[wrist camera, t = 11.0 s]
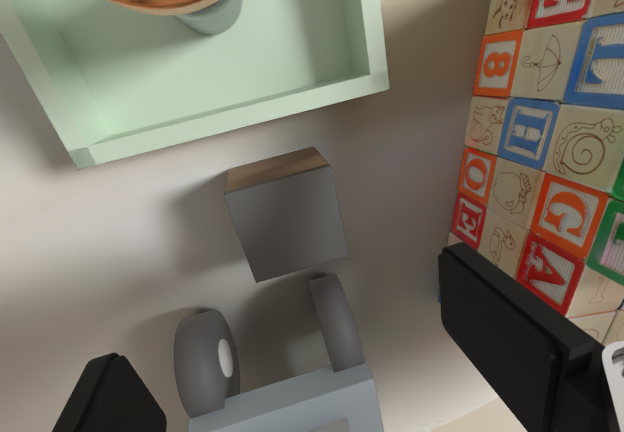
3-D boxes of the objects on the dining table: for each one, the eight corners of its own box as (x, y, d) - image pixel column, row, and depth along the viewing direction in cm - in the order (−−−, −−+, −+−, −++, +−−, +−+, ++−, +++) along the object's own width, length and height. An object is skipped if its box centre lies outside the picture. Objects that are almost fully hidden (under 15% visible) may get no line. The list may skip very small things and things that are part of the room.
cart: (330, 255, 22) (382, 372, 13) (367, 416, 30) (415, 554, 21) (183, 299, 21) (140, 451, 13) (261, 452, 29) (266, 609, 20)
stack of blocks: (505, 289, 26) (692, 447, 15) (435, 299, 25) (579, 475, 14) (595, -30, 18) (1186, -203, 7) (493, -34, 17) (984, -246, 6)
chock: (313, 146, 19) (330, 165, 15) (329, 220, 21) (348, 255, 17) (228, 168, 18) (223, 195, 14) (254, 242, 20) (256, 282, 17)
